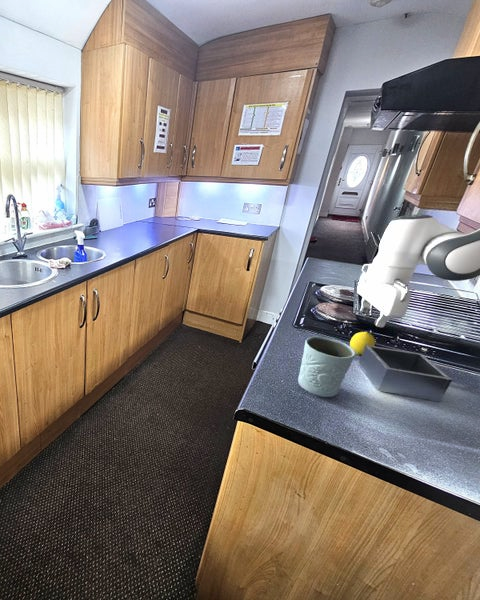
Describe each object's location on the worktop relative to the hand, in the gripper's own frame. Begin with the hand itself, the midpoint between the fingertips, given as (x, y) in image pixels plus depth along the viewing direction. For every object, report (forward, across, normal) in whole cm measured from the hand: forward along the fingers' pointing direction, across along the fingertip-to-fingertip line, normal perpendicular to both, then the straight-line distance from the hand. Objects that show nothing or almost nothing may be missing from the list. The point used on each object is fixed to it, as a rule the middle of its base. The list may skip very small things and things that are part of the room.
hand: (371, 319), depth 95 cm
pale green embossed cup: (+12, -23, +17) cm, 31 cm away
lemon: (+12, 0, 0) cm, 12 cm away
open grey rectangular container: (+12, -13, -4) cm, 18 cm away
